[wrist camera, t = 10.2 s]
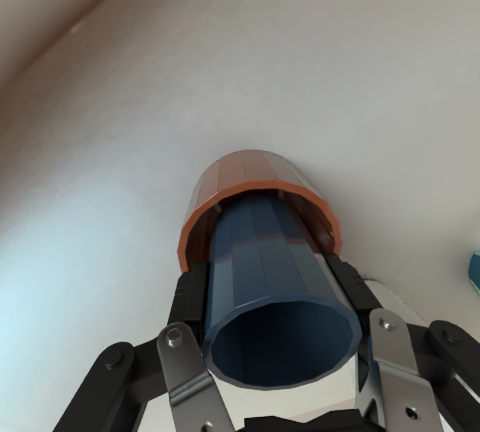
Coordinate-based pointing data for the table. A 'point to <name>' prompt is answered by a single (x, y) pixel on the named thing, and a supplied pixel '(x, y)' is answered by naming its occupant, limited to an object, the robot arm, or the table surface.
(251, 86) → the table surface
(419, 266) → the table surface
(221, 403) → the robot arm
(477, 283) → the sunglasses
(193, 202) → the terracotta cup
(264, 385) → the slate cup
